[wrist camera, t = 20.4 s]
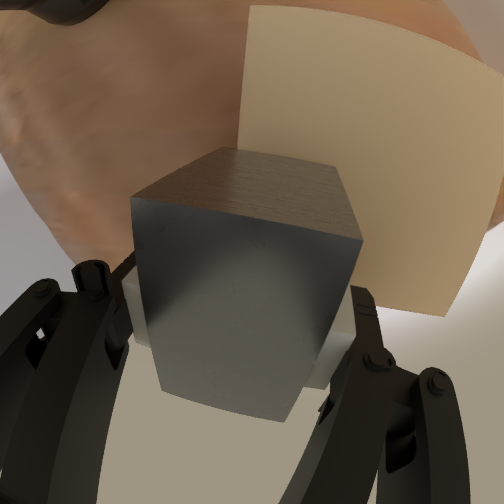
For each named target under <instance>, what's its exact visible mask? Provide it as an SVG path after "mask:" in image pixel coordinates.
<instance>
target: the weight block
mask: <svg viewBox="0 0 504 504" xmlns="http://www.w3.org/2000/svg"><path fill="white" fill-rule="evenodd" d="M130 203H131V217H132V229H133V239H134V249H135V257H136V265H137V273H138V280H139V286H140V293H141V299H142V305H143V310H144V316H145V321H146V326H147V331H148V336H149V340H150V345H151V349H152V354H153V358H154V362H155V366H156V370H157V374H158V378H159V382H160V385H161V389H162V391H164V392H167V393H170V394H173V395H176V396H179V397H182V398H185V399H188V400H191V401H194V402H198V403H201V404H204V405H208V406H212V407H215V408H219V409H223V410H226V411H230V412H234V413H239V414H243V415H247V416H252V417H257V418H262V419H267V420H272V421H278V422H285V420H286V418H287V417H288V415H289V413H290V411H291V409H292V407H293V405H294V403H295V402H296V400H297V398H298V396H299V394H300V392H301V390H302V388H303V386H304V384H305V382H306V380H307V378H308V376H309V374H310V372H311V370H312V368H313V366H314V364H315V362H316V360H317V358H318V355H319V353H320V351H321V349H322V347H323V344H324V342H325V340H326V338H327V335H328V333H329V331H330V329H331V326H332V324H333V321H334V319H335V317H336V314H337V312H338V309H339V307H340V304H341V302H342V299H343V297H344V294H345V292H346V289H347V287H348V284H349V281H350V279H351V276H352V273H353V270H354V268H355V265H356V262H357V259H358V256H359V253H360V250H361V247H362V244H363V241H364V240H363V237H362V234H361V231H360V228H359V225H358V223H357V220H356V217H355V214H354V212H353V209H352V206H351V204H350V201H349V198H348V196H347V193H346V191H345V188H344V186H343V183H342V181H341V178H340V176H339V174H338V171H337V169H336V167H335V166H330V165H326V164H321V163H316V162H312V161H307V160H302V159H296V158H291V157H286V156H280V155H274V154H268V153H262V152H255V151H248V150H241V149H234V148H226V147H221V148H219V149H217V150H215V151H213V152H211V153H209V154H207V155H205V156H203V157H201V158H199V159H197V160H195V161H193V162H191V163H189V164H187V165H185V166H183V167H182V168H180V169H178V170H176V171H174V172H172V173H170V174H169V175H167V176H165V177H163V178H161V179H160V180H158V181H156V182H154V183H153V184H151V185H149V186H147V187H146V188H144V189H142V190H141V191H139V192H137V193H136V194H134V195H132V196H131V197H130Z"/></svg>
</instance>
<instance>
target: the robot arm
mask: <svg viewBox="0 0 504 504" xmlns="http://www.w3.org/2000/svg"><path fill="white" fill-rule="evenodd" d="M107 1H108V0H0V10H26V11H28V12H30V13H32V14H34V15H36V16H37V17H39V18H41V19H43V20H45V21H47V22H48V23H51V24H56V25H73V24H76V23H78V22H81V21H83V20H84V19H86V18H88V17H89V16H91V15H92V14H93V13H95V12H96V11H97V10H98V9H100V8H101V7H102V6H103V5H104V4H105V3H106V2H107ZM71 271H72V275H73V278H74V282H75V285H76V288H77V291H78V292H63V291H61V290H60V287H59V285H58V282H57V281H56V280H54V279H50V278H47V279H41V280H39V281H37V282H35V283H34V284H33V285H31V286H30V287H29V288H28V289H27V290H26V291H25V292H24V293H23V294H22V295H21V296H20V297H19V298H18V299H17V300H16V301H15V302H14V303H13V304H12V305H11V306H10V307H9V308H8V309H7V310H6V311H5V312H4V313H3V314H2V315H1V316H0V471H1V469H2V473H1V478H0V504H96V501H97V493H98V485H99V478H100V472H101V466H102V459H103V455H104V449H105V444H106V439H107V434H108V429H109V425H110V420H111V416H112V412H113V407H114V403H115V399H116V395H117V391H118V387H119V384H120V380H121V376H122V373H123V369H124V365H125V362H126V359H127V355H128V352H129V344H128V339H129V337H130V335H131V334H132V333H133V334H134V337H135V341H136V343H139V344H141V345H144V346H147V347H150V348H151V345H150V340H149V336H148V331H147V326H146V321H145V316H144V310H143V305H142V299H141V293H140V286H139V280H138V273H137V265H136V257H135V250H134V251H133V252H132V253H131V254H130V255H129V257H127V258H126V259H125V260H124V261H123V263H121V264H120V265H119V266H118V267H117V268H116V269H115V270H114V271H113V272H112V273H110V268H109V266H108V264H107V263H105V262H104V261H101V260H88V261H84V262H81V263H79V264H78V265H76V266H75V267H74V268H73V269H72V270H71ZM377 316H378V315H377V310H376V306H375V301H374V297H373V296H372V295H371V293H370V292H369V291H368V289H367V288H364V287H358V286H353V285H350V282H349V284H348V287H347V289H346V292H345V294H344V297H343V299H342V302H341V304H340V307H339V309H338V312H337V314H336V317H335V319H334V321H333V324H332V326H331V329H330V331H329V333H328V335H327V338H326V340H325V342H324V344H323V347H322V349H321V351H320V353H319V355H318V358H317V360H316V362H315V364H314V366H313V368H312V370H311V372H310V374H309V376H308V378H307V380H306V382H305V384H304V386H303V387H309V388H317V389H323V390H325V389H326V387H327V386H328V384H329V382H330V394H329V396H328V397H327V398H326V400H325V401H324V403H323V404H322V406H321V407H320V408H319V410H318V411H319V412H320V415H319V418H318V420H317V423H316V426H315V428H314V430H313V432H312V435H311V437H310V440H309V442H308V444H307V447H306V449H305V451H304V453H303V455H302V458H301V460H300V462H299V464H298V466H297V469H296V470H295V473H294V475H293V477H292V479H291V481H290V483H289V485H288V487H287V489H286V491H285V493H284V494H283V496H282V498H281V500H280V502H279V504H367V502H368V499H369V496H370V493H371V490H372V487H373V483H374V480H375V477H376V473H377V470H378V479H377V496H376V504H470V482H469V469H468V459H467V451H466V444H465V438H464V432H463V427H462V421H461V416H460V411H459V406H458V402H457V398H456V394H455V390H454V386H453V383H452V381H451V379H450V377H449V376H448V375H447V374H446V373H445V372H443V371H442V370H440V369H438V368H434V367H430V368H426V369H425V370H423V371H422V372H421V373H420V375H417V374H414V373H412V372H409V371H407V370H404V369H402V368H400V367H398V366H397V365H396V361H395V359H394V357H393V355H392V354H391V353H390V352H389V351H388V350H387V349H386V348H384V346H383V341H382V335H381V330H380V325H379V320H378V318H377ZM40 328H41V329H42V331H43V333H44V335H45V336H44V337H43V338H41V339H39V338H38V336H37V334H36V333H37V331H38V330H39V329H40Z"/></svg>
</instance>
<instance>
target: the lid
mask: <svg viewBox="0 0 504 504" xmlns="http://www.w3.org/2000/svg"><path fill="white" fill-rule="evenodd" d="M237 149H241V150H248V151H255V152H262V153H268V154H274V155H280V156H286V157H291V158H296V159H302V160H307V161H312V162H316V163H321V164H326V165H330V166H335V167H336V169H337V171H338V174H339V176H340V178H341V181H342V183H343V186H344V188H345V191H346V193H347V196H348V198H349V201H350V204H351V206H352V209H353V212H354V214H355V217H356V220H357V223H358V225H359V228H360V231H361V234H362V237H363V240H364V241H363V244H362V247H361V250H360V253H359V256H358V259H357V262H356V265H355V268H354V270H353V273H352V276H351V279H350V281H349V282H350V285H353V286H358V287H364V288H367V289H368V291H369V292H370V293H371V295H372V296H373V297H374V301H375V306H380V307H386V308H391V309H397V310H403V311H409V312H415V313H422V314H428V315H435V316H441V317H445V315H446V313H447V312H448V310H449V308H450V306H451V304H452V303H453V301H454V299H455V297H456V295H457V294H458V292H459V290H460V288H461V286H462V284H463V282H464V280H465V278H466V276H467V274H468V272H469V270H470V268H471V265H472V263H473V261H474V259H475V257H476V254H477V252H478V250H479V247H480V244H481V242H482V240H483V237H484V235H485V232H486V230H487V227H488V224H489V221H490V219H491V216H492V213H493V210H494V207H495V203H496V200H497V197H498V194H499V190H500V187H501V183H502V179H503V175H504V76H503V75H502V74H500V73H498V72H497V71H495V70H494V69H492V68H490V67H489V66H487V65H485V64H483V63H481V62H480V61H478V60H476V59H474V58H472V57H470V56H468V55H466V54H464V53H462V52H460V51H458V50H456V49H454V48H452V47H450V46H447V45H445V44H443V43H441V42H438V41H436V40H433V39H431V38H428V37H426V36H423V35H421V34H418V33H415V32H412V31H409V30H406V29H403V28H400V27H397V26H394V25H390V24H387V23H383V22H380V21H376V20H372V19H368V18H364V17H359V16H354V15H349V14H344V13H339V12H333V11H326V10H319V9H311V8H302V7H290V6H269V5H250V12H249V22H248V31H247V41H246V51H245V61H244V72H243V83H242V94H241V106H240V118H239V131H238V144H237Z"/></svg>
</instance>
